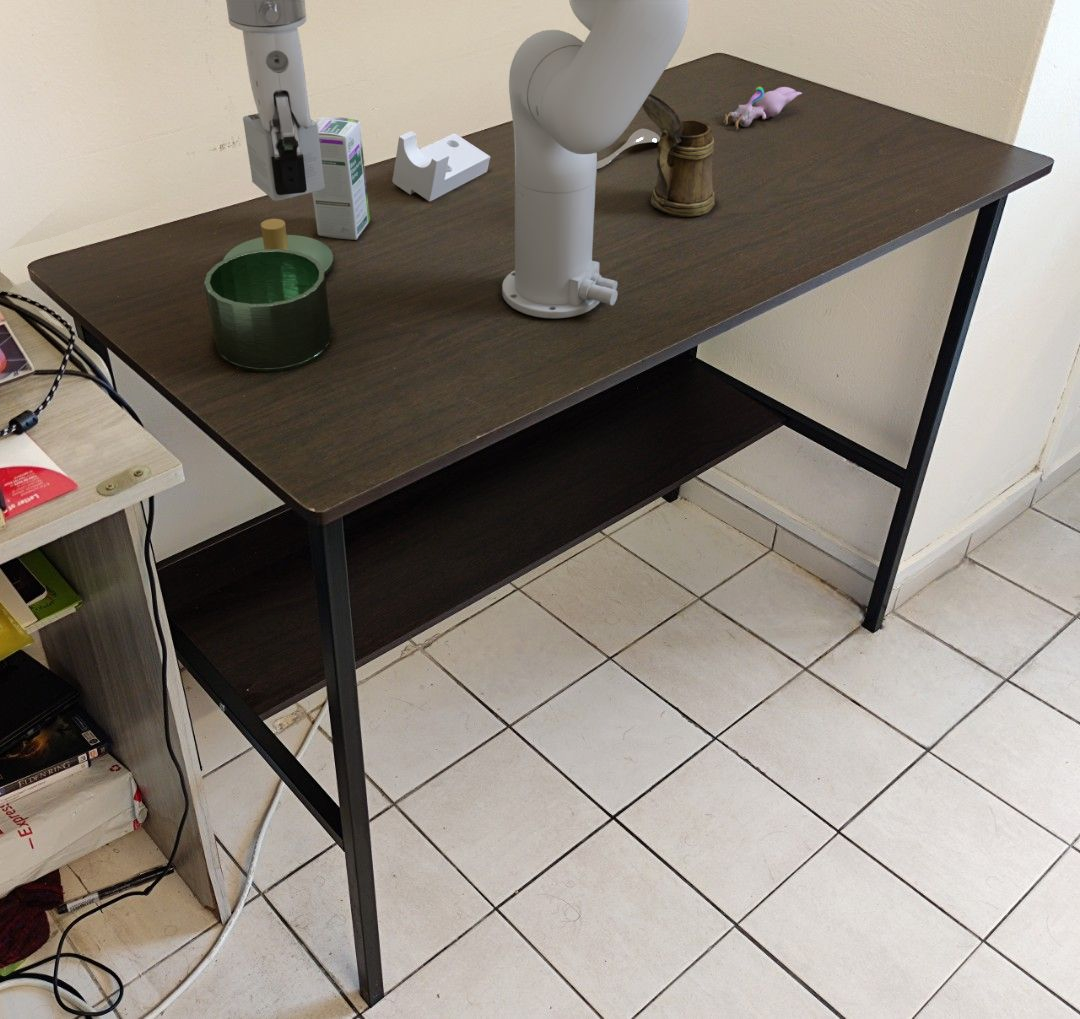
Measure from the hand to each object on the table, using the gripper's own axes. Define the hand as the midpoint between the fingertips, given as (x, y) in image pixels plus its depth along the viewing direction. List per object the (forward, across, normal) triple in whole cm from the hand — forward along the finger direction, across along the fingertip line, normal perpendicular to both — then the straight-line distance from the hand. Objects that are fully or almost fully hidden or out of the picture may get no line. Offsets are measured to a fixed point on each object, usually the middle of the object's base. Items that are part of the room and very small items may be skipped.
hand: (286, 176), depth 127 cm
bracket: (+20, +37, -26) cm, 50 cm away
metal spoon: (+20, +38, -52) cm, 68 cm away
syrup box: (+20, +26, -9) cm, 34 cm away
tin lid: (+19, +18, +1) cm, 26 cm away
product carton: (+1, 0, 0) cm, 1 cm away
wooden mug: (+20, +20, -55) cm, 62 cm away
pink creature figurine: (+19, +47, -82) cm, 96 cm away
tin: (+20, 0, +4) cm, 20 cm away
